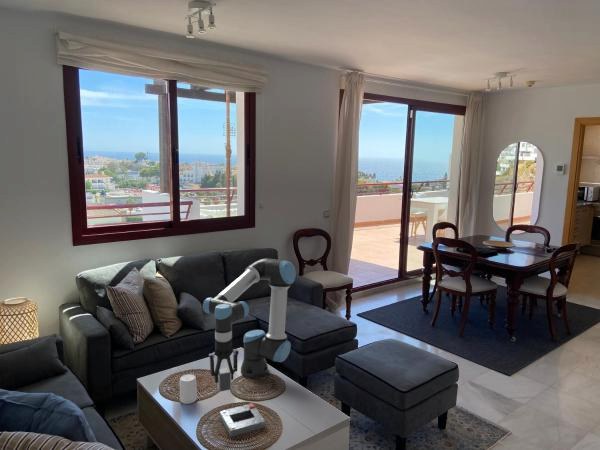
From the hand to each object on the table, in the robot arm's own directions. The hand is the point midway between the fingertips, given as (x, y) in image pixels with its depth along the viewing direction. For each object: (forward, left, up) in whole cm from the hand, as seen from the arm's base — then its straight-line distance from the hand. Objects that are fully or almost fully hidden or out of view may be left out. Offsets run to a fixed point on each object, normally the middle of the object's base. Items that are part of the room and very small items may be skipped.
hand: (224, 387), depth 203 cm
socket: (-6, +7, -15) cm, 18 cm away
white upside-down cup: (+12, -22, -15) cm, 29 cm away
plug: (0, 0, 0) cm, 0 cm away
